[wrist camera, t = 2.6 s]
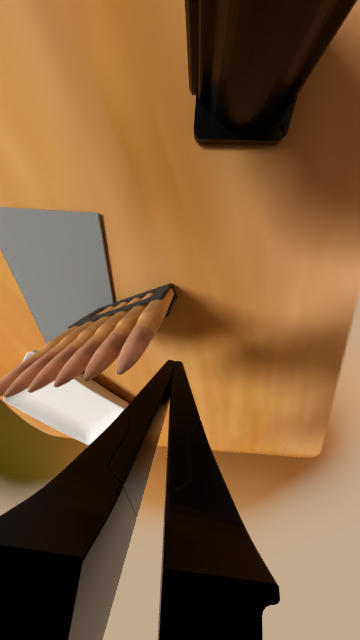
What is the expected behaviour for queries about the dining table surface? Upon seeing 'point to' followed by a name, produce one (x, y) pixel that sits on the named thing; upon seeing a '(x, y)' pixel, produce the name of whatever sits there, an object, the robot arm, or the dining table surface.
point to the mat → (56, 264)
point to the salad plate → (71, 407)
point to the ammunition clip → (94, 343)
